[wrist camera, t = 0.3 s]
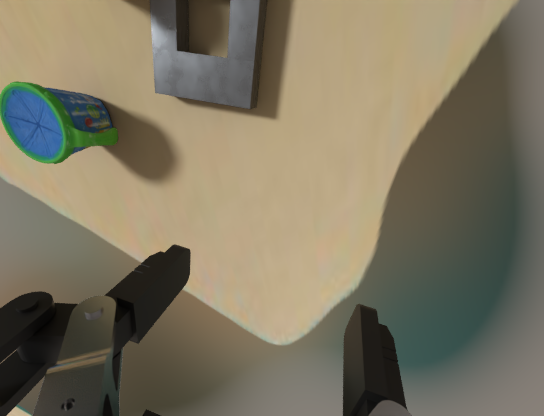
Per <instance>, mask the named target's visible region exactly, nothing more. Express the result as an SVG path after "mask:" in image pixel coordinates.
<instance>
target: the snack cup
mask: <svg viewBox="0 0 544 416" xmlns="http://www.w3.org/2000/svg"><path fill="white" fill-rule="evenodd" d="M0 116H1V120H2V123H3V125H4V128H5V130H6V132H7V133H8V135H9V137H10V138H11V139H12V141H13V142H14V143H15V145H16V146H17V147H18V148H19V149H20V150H21V151H22V152H23V153H25V154H26V155H27V156H29V157H30V158H32V159H34V160H36V161H39V162H42V163H54V164H57V163H61V162H63V161H64V160H65V159H67V158H68V157H69V156H70V155H71V154H74V153H75V152H78V151H81V150H83V149H86V148H88V147H91V146H101V145H114V144H116V143H117V141H118V131H117V129H116V128H114V127H113V128H112V122H111V120H110V116H109V114H108V112H107V110H106V108H105V107H104V106H103V103H102V102H101V101H100V100H98V99H96V98H94V97H92V96H90V95H86V94H82V93H75V92H70V91H64V90H58V89H52V88H44V87H42V86H40V85H37V84H33V83H26V82H12V83H10V84H9V85H7V86H6V87H5V88H4V89H3V90H2V92H1V94H0Z"/></svg>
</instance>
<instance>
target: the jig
mask: <svg viewBox="0 0 544 416" xmlns="http://www.w3.org/2000/svg"><path fill="white" fill-rule="evenodd" d="M266 7H267V0H230V19H229V39H228V58H224V57H217V56H209V55H202V54H195V53H189V21H188V0H150V13H151V30H152V47H153V63H154V80H155V93H159V94H165V95H171V96H177V97H182V98H188V99H194V100H200V101H206V102H212V103H218V104H224V105H229V106H235V107H241V108H247V109H252V108H256V106H257V96H258V86H259V76H260V66H261V56H262V46H263V37H264V27H265V17H266Z"/></svg>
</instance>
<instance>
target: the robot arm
mask: <svg viewBox="0 0 544 416" xmlns="http://www.w3.org/2000/svg"><path fill="white" fill-rule="evenodd" d="M189 275H190V249H188V248H185V247H181V246H178V245H172V246H171V247H170V248H169V249H168V250H167V251H166V252H165V253H164V252H161V251H160V252H158V253H156V254H154V255H151V256H149V257H148V258H147V259H146V260H145V261H144V262H142V263H141V265H139V266H138V267H137V268H135V270H134V271H132V272H131V273H130V274H129V275H127V276H126V277H125V278H124V279H123V280H122V281H121V282H120V283H118V284H117V285H116V286H115V287H114V288H113V289H111V290H110V291H109V292H108V293H107V294H106V295H102V296H101V295H100V296H94V297H90V298H88V299H86V300H84V301H82V302H80V303H79V304H65V303H54V301H53V298H52V296H51V295H50V294H49V293H46V292H31V293H27V294H24V295H21V296H19V297H17V298H15V299H14V300H12V301H10V302H9V303H7V304H6V305H4V306H3V307H2V308H0V363H1V362H2V361H3V360H4V359H5V358H6V357H7V356H9V355H10V354H11V353H12V352H13V351H15V350H16V349H17V350H16V351H15V352H14V353H13V354H12V355H11V356H9V357H8V358H7V359H6V360H5V361H3V362H2V363H1V364H0V416H6V415H7V414H8V413H9V412H10V411H11V410H12V409H13V408H14V407H15V406H16V405H17V404H18V403H19V402H20V401H21V400H22V399H23V398H24V397H25V396H26V395H27V393H29V392H30V391H31V390H32V388H33V387H34V386H35V385H36V384H37V383H38V382H39V381H40V380H41V379H42V378H43V377H44V376H45V377H44V381H43V384H42V387H41V390H40V393H39V396H38V400H37V403H36V406H35V409H34V413H33V416H120V407H119V393H120V381H121V370H122V358H123V357H122V356H123V347H124V346H125V344H126V343H127V342H128V341H129V340H130V341H133V342H135V343H139V342H140V341H141V339H142V338H143V337H144V336H145V334H146V333H147V332H148V331H149V329H150V328H151V327H152V326H153V325H154V323H155V322H156V321H157V319H158V318H159V317H160V316H161V315H162V313H163V312H164V311H165V310H166V308H167V307H168V306H169V305H170V303H171V302H172V301H173V300H174V298H175V297H176V296H177V295H178V294H179V292H180V291H181V290H182V289H183V287H184V286H185V285H186V283H187V281H188V279H189ZM397 362H398V360H397V354H396V349H395V343H394V338H393V337H392V335H391V333H390V331H389V330H388V328H387V326H385V325H382V324H379V323H378V316H377V311H376V309H373V308H370V307H367V306H364V305H361V304H358V305H356V307H355V310H354V312H353V314H352V316H351V318H350V320H349V323H348V325H347V327H346V330H345V335H344V365H343V368H344V369H343V416H412V415H411V414H410V413H409V412H408V410H407V407H406V403H405V398H404V392H403V387H402V382H401V376H400V370H399V365H398V363H397ZM143 416H160V415H158V414H156V413H153V412H151V411H149V410H146V411H145V412H144V414H143Z"/></svg>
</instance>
